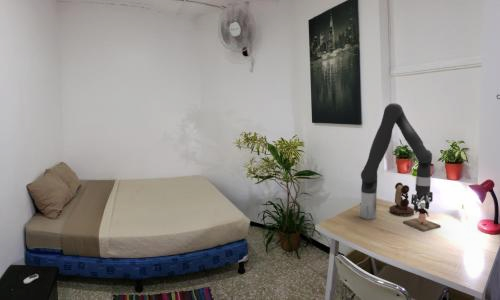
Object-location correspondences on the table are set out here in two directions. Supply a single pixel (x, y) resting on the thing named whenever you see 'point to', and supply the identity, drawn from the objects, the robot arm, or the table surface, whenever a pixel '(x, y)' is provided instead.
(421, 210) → the grandmother figurine
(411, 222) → the walnut board
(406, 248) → the table surface
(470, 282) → the table surface
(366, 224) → the table surface
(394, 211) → the brown wooden statue
